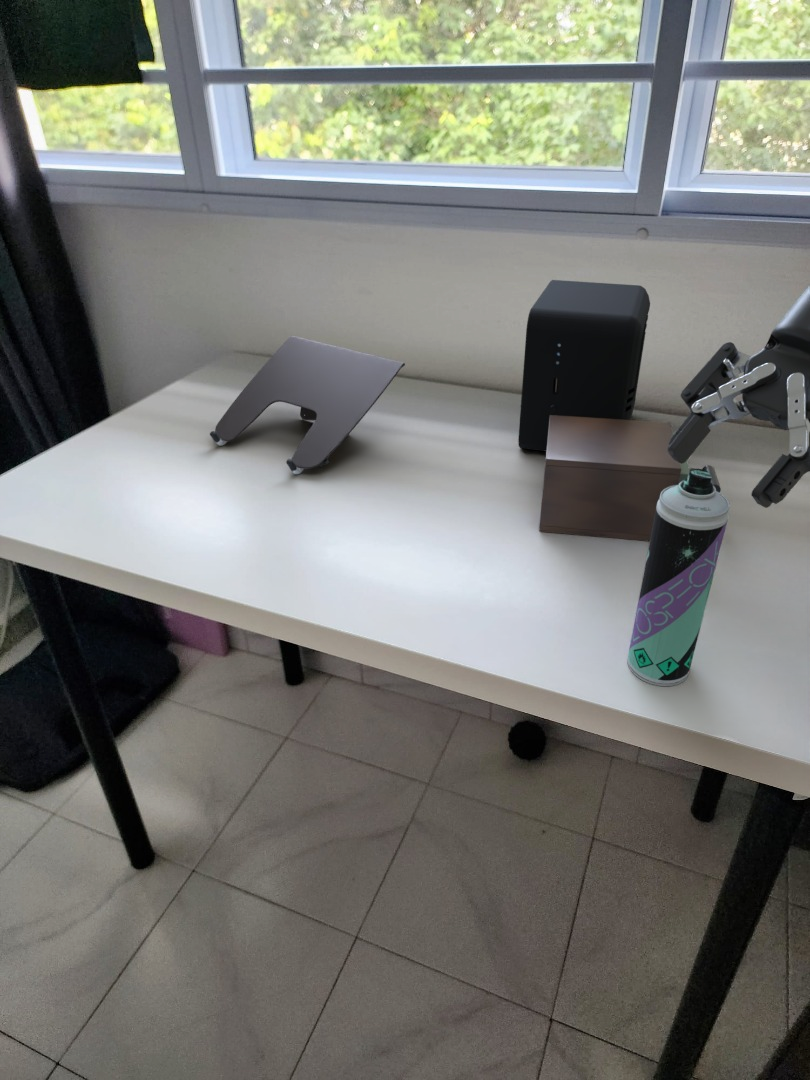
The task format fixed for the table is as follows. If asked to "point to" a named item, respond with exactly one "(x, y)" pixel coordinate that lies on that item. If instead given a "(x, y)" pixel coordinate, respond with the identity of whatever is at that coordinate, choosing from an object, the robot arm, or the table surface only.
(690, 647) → the spray can
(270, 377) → the laptop tray
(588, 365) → the black nas enclosure
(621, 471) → the cabinet
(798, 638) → the table surface
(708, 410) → the robot arm
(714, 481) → the drawer
